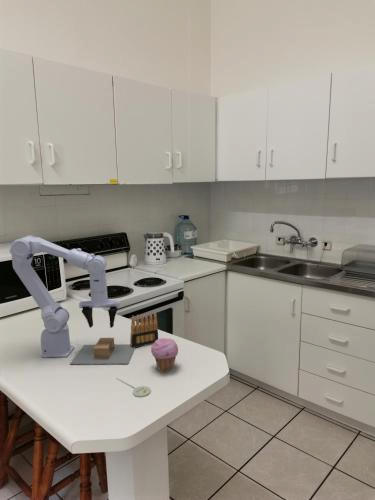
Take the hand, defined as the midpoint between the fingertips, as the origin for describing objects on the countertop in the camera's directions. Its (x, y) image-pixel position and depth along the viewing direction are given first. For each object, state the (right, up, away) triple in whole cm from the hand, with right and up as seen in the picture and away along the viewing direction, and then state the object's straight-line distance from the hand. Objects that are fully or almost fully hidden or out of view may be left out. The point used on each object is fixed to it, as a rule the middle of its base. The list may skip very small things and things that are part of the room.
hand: (101, 326), depth 135 cm
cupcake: (+24, -11, -12) cm, 29 cm away
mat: (+1, -10, -1) cm, 10 cm away
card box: (+1, -9, -1) cm, 9 cm away
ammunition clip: (+15, -8, +6) cm, 18 cm away
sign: (+14, -14, -23) cm, 30 cm away
